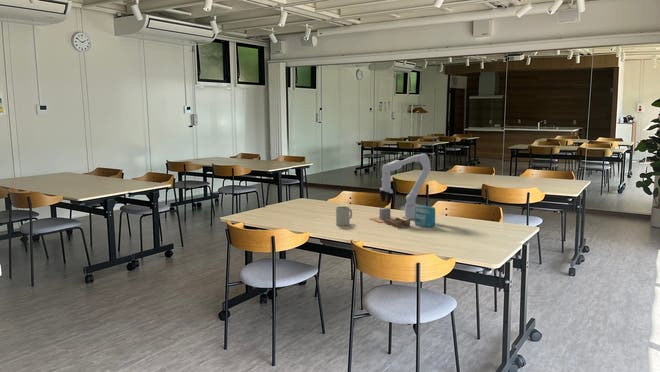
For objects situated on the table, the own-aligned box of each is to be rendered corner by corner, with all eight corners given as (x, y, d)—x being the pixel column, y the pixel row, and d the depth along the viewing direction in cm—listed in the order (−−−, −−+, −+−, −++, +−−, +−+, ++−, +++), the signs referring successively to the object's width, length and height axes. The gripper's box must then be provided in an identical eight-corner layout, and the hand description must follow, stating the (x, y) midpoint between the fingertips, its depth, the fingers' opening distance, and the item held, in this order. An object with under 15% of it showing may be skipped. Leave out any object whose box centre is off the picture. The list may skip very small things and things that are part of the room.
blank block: (387, 218, 346) (387, 207, 345) (390, 219, 342) (390, 208, 341) (379, 218, 343) (379, 208, 342) (382, 220, 340) (382, 209, 339)
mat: (391, 216, 352) (391, 216, 352) (400, 220, 340) (400, 219, 340) (369, 219, 346) (369, 218, 346) (378, 222, 334) (378, 222, 334)
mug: (342, 226, 325) (342, 209, 323) (333, 224, 331) (333, 207, 330) (356, 223, 333) (356, 206, 331) (347, 221, 339) (346, 205, 338)
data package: (414, 225, 326) (414, 206, 325) (418, 223, 330) (418, 205, 328) (431, 227, 319) (431, 208, 317) (435, 226, 322) (435, 207, 320)
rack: (397, 221, 338) (397, 215, 337) (410, 226, 323) (410, 220, 322) (384, 222, 334) (384, 216, 334) (396, 227, 319) (396, 221, 319)
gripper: (375, 181, 352) (375, 201, 353) (386, 184, 338) (386, 204, 340) (385, 180, 354) (385, 200, 356) (395, 183, 341) (395, 203, 343)
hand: (386, 202), depth 348 cm, fingers open, 7 cm apart
